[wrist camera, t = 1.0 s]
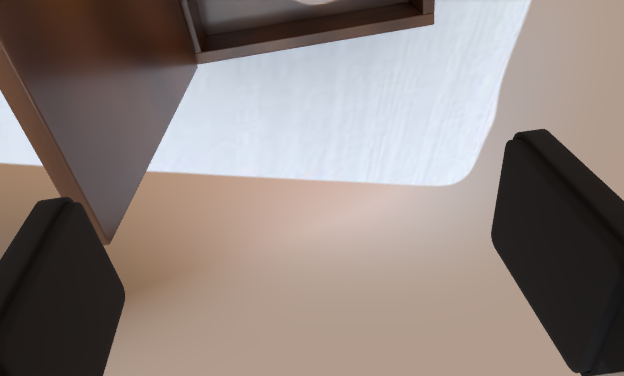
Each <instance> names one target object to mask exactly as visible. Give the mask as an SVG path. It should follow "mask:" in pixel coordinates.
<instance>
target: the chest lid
mask: <svg viewBox="0 0 624 376" xmlns="http://www.w3.org/2000/svg"><path fill="white" fill-rule="evenodd" d="M197 68H198V66H197V63H196V59H195V56H194V52H193V49H192V45H191V42H190V39H189V35H188V32H187V28H186V25H185V21H184V18H183V15H182V11H181V8H180V4H179V1H178V0H0V90H1V92H2V94H3V95H4V97H5V99H6V101H7V102H8V104H9V106H10V108H11V109H12V111H13V113H14V115H15V116H16V118H17V120H18V122H19V124H20V125H21V127H22V129H23V131H24V132H25V134H26V136H27V138H28V139H29V141H30V143H31V145H32V146H33V148H34V150H35V152H36V154H37V155H38V157H39V159H40V161H41V162H42V164H43V166H44V168H45V169H46V171H47V173H48V175H49V176H50V178H51V180H52V182H53V183H54V185H55V187H56V188H57V191H58V192H59V194H60V196H61V197H70V198H71V199H72V200H73V201H74V202H80V203H81V204H82V205H83V207H84V209H85V211H86V213H87V215H88V217H89V219H90V221H91V223H92V225H93V227H94V229H95V231H96V233H97V235H98V237H99V239H100V241H101V243H102V245H109V244H110V243H111V241H112V239H113V237H114V235H115V232H116V230H117V229H118V226H119V225H120V223H121V220H122V219H123V216H124V214H125V212H126V210H127V208H128V206H129V204H130V202H131V200H132V198H133V196H134V194H135V192H136V190H137V188H138V186H139V184H140V182H141V180H142V178H143V176H144V174H145V172H146V170H147V168H148V166H149V164H150V162H151V160H152V158H153V156H154V154H155V152H156V150H157V148H158V146H159V144H160V142H161V140H162V138H163V136H164V134H165V132H166V130H167V128H168V126H169V124H170V122H171V120H172V118H173V116H174V114H175V112H176V110H177V108H178V106H179V104H180V102H181V100H182V98H183V96H184V94H185V92H186V90H187V88H188V86H189V84H190V82H191V80H192V78H193V76H194V74H195V72H196V70H197Z"/></svg>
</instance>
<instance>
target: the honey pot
mask: <svg viewBox="0 0 624 376" xmlns="http://www.w3.org/2000/svg"><path fill="white" fill-rule="evenodd" d="M293 1H295V2H298V3H301V4H305V5H313V6H318V5H326V4H330V3H333V2H336V1H338V0H293Z"/></svg>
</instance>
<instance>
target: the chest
mask: <svg viewBox="0 0 624 376" xmlns="http://www.w3.org/2000/svg"><path fill="white" fill-rule="evenodd" d="M178 1H179V4H180V8H181V11H182V15H183V18H184V21H185V25H186V28H187V32H188V35H189V39H190V42H191V45H192V49H193V52H194V56H195V59H196V63H197V64H203V63H209V62H215V61H221V60H227V59H233V58H239V57H245V56H250V55H256V54H262V53H268V52H274V51H280V50H286V49H292V48H298V47H304V46H310V45H315V44H321V43H327V42H333V41H339V40H345V39H351V38H357V37H363V36H369V35H375V34H380V33H386V32H392V31H398V30H404V29H410V28H416V27H422V26H428V25H433V24H434V13H433V12H434V2H435V0H338V1H336V2H333V3H330V4H326V5H318V6H313V5H305V4H301V3H298V2H295V1H293V0H178Z"/></svg>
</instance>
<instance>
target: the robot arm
mask: <svg viewBox="0 0 624 376" xmlns="http://www.w3.org/2000/svg"><path fill="white" fill-rule="evenodd" d="M491 237H492V242H493V245H494V247H495V249H496V251H497V252H498V254H499V255H500V257H501V259H502V260H503V262H504V263H505V265H506V267H507V268H508V270H509V272H510V273H511V275H512V276H513V278H514V280H515V281H516V283H517V285H518V286H519V288H520V289H521V291H522V293H523V294H524V296H525V298H526V299H527V301H528V302H529V304H530V306H531V307H532V309H533V310H534V312H535V314H536V315H537V317H538V318H539V320H540V322H541V323H542V325H543V327H544V328H545V330H546V331H547V333H548V335H549V336H550V338H551V339H552V341H553V343H554V344H555V346H556V347H557V349H558V351H559V352H560V354H561V356H562V357H563V359H564V361H565V362H566V364H567V365H568V367H569V368H570V369H571V370H572V371H573V372H575V373H580V374H581V375H582V376H624V201H623V200H622V199H621V198H620V197H619V196H618V195H617V194H616V193H615V192H613V191H612V190H611V189H610V188H609V187H608V186H607V185H606V184H605V183H604V182H603V181H602V180H600V179H599V178H598V177H597V176H596V175H595V174H594V173H593V172H592V171H591V170H589V168H588V167H586V166H585V165H584V164H583V163H582V162H581V161H580V160H579V159H578V158H577V157H575V155H573V154H572V153H571V152H570V151H569V150H568V149H567V148H566V147H565V146H564V145H563V144H562V143H560V142H559V141H558V140H557V139H556V138H555V137H554V136H553V135H552V134H551V133H549V131H547V130H545V129H539V130H532V131H525V132H518V133H516V134H515V136H514V137H513V140H509V141H508V142H507V143H506V146H505V152H504V158H503V164H502V170H501V176H500V182H499V188H498V194H497V200H496V207H495V213H494V219H493V225H492V231H491ZM124 301H125V291H124V287H123V285H122V283H121V281H120V279H119V277H118V275H117V273H116V271H115V269H114V267H113V265H112V263H111V261H110V259H109V257H108V255H107V253H106V251H105V249H104V247H103V245H102V243H101V241H100V239H99V237H98V235H97V233H96V231H95V229H94V227H93V225H92V223H91V221H90V219H89V217H88V215H87V213H86V211H85V209H84V207H83V205H82V204H81V203H80V202H74V201H73V200H72V199H71V198H70V197H61V198H54V199H47V200H41V201H39V202H37V204H36V205H35V206H34V208H33V209H32V211H31V212H30V214H29V216H28V217H27V219H26V220H25V222H24V224H23V225H22V227H21V228H20V230H19V232H18V233H17V235H16V236H15V238H14V239H13V241H12V242H11V244H10V246H9V247H8V249H7V250H6V252H5V253H4V255H3V257H2V258H1V260H0V376H103V374H104V370H105V367H106V363H107V359H108V357H109V353H110V349H111V346H112V343H113V340H114V336H115V333H116V329H117V326H118V323H119V319H120V316H121V312H122V309H123V306H124Z"/></svg>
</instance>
